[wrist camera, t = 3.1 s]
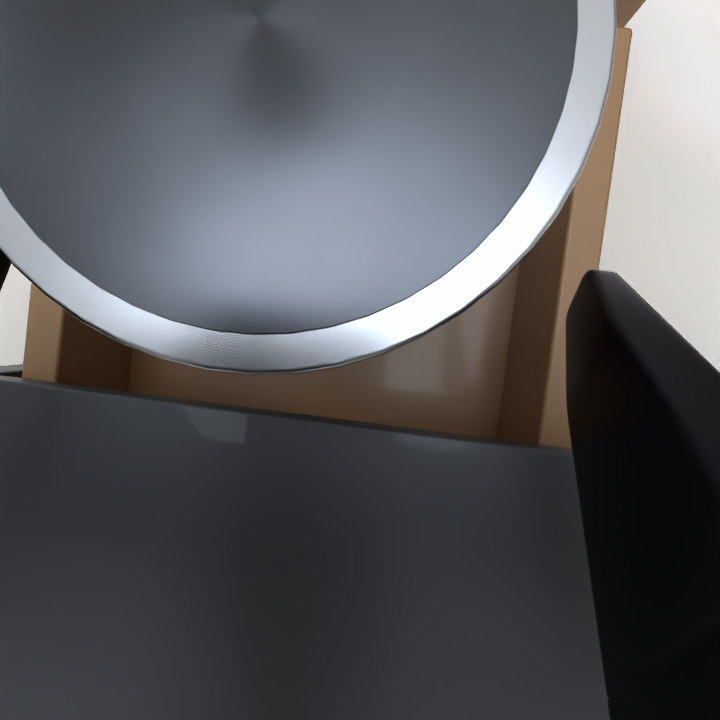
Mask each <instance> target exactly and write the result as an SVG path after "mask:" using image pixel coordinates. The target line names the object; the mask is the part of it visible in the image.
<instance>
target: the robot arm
mask: <svg viewBox="0 0 720 720" xmlns="http://www.w3.org/2000/svg"><path fill="white" fill-rule="evenodd" d="M10 265H11V262H10V261H9V259H8V258H7V257H6V256H5V254H4V253H3V252H2V251H1V250H0V291H1V288H2V285H3V283H4V280H5V278H6V275H7V273H8V270H9V268H10ZM565 328H566V405H567V416H568V424H569V431H570V438H571V445H572V453H573V460H574V467H575V474H576V481H577V488H578V495H579V502H580V509H581V516H582V523H583V530H584V537H585V545H586V552H587V559H588V566H589V573H590V580H591V587H592V594H593V601H594V608H595V615H596V622H597V629H598V637H599V644H600V651H601V658H602V665H603V672H604V679H605V686H606V693H607V697H608V698H610V699H608V701H607V703H608V710H609V717H610V720H720V372H719V371H718V370H717V369H716V368H715V367H714V366H712V365H711V364H710V363H709V362H708V361H707V360H706V359H705V358H704V357H703V356H702V355H701V354H700V353H699V352H698V351H697V350H696V349H695V348H694V347H693V346H692V345H691V344H690V343H689V342H688V341H687V340H686V339H685V338H683V337H682V336H681V335H680V334H679V333H678V332H677V331H676V330H675V329H674V328H673V327H672V326H671V325H670V324H669V323H668V322H667V321H666V320H665V319H664V318H663V317H662V316H661V315H660V314H659V313H658V312H657V311H655V310H654V309H653V308H652V307H651V306H650V305H649V304H648V303H647V302H646V301H645V300H644V299H643V298H642V297H641V296H640V295H639V294H638V293H637V292H636V291H635V290H634V289H633V288H632V287H631V286H630V285H629V284H627V283H626V282H625V281H624V280H623V279H622V278H621V277H620V276H619V275H618V274H617V273H615V272H609V271H601V270H589V271H587V272H586V273H585V274H584V276H583V278H582V280H581V282H580V284H579V286H578V289H577V291H576V293H575V295H574V298H573V300H572V302H571V304H570V307H569V309H568V312H567V316H566V325H565Z"/></svg>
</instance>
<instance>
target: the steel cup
mask: <svg viewBox="0 0 720 720" xmlns="http://www.w3.org/2000/svg"><path fill="white" fill-rule="evenodd" d="M616 36H617V21H616V0H0V250H1V251H2V252H3V253H4V254H5V256H6V257H7V258H8V259H9V261H10V262H11V263H12V264H13V265H14V266H15V267H16V268H17V269H18V270H19V271H20V272H21V273H22V274H23V275H24V276H25V277H26V278H27V279H28V280H30V281H31V282H32V283H33V284H34V285H35V286H36V287H37V288H38V289H39V290H40V291H41V292H42V293H43V294H44V295H45V296H47V297H48V298H49V299H51V300H52V301H54V302H55V303H56V304H58V305H59V306H60V307H62V308H63V309H65V310H66V311H67V312H69V313H70V314H71V315H73V316H74V317H76V318H77V319H78V320H80V321H81V322H83V323H84V324H86V325H88V326H90V327H92V328H94V329H95V330H97V331H99V332H101V333H103V334H105V335H106V336H108V337H110V338H112V339H114V340H116V341H117V342H119V343H121V344H124V345H126V346H129V347H131V348H134V349H136V350H139V351H142V352H144V353H147V354H149V355H152V356H155V357H157V358H160V359H162V360H166V361H170V362H174V363H178V364H182V365H187V366H191V367H195V368H199V369H203V370H208V371H217V372H227V373H236V374H245V375H278V374H300V373H306V372H312V371H319V370H325V369H331V368H338V367H342V366H346V365H349V364H353V363H356V362H359V361H363V360H366V359H370V358H373V357H376V356H380V355H383V354H386V353H388V352H390V351H392V350H395V349H397V348H399V347H401V346H404V345H406V344H408V343H410V342H413V341H415V340H417V339H419V338H422V337H424V336H426V335H428V334H429V333H431V332H432V331H434V330H436V329H437V328H439V327H441V326H442V325H444V324H446V323H447V322H449V321H450V320H452V319H454V318H455V317H457V316H459V315H460V314H462V313H464V312H465V311H466V310H467V309H469V308H470V307H471V306H472V305H474V304H475V303H476V302H477V301H479V300H480V299H481V298H482V297H484V296H485V295H486V294H487V293H489V292H490V291H491V290H492V289H494V288H495V287H496V286H497V285H499V284H500V283H501V282H502V281H503V280H504V279H505V278H506V276H507V275H508V274H509V273H510V272H511V271H512V270H513V269H514V268H515V267H516V266H517V265H518V264H519V263H520V262H521V261H522V260H523V259H524V258H525V257H526V256H527V255H528V253H529V252H530V251H531V250H532V249H533V248H534V246H535V245H536V244H537V242H538V241H539V240H540V238H541V237H542V236H543V234H544V233H545V231H546V230H547V229H548V227H549V226H550V225H551V223H552V222H553V221H554V219H555V218H556V216H557V215H558V214H559V212H560V211H561V209H562V207H563V205H564V203H565V202H566V200H567V198H568V196H569V194H570V192H571V191H572V189H573V187H574V185H575V183H576V182H577V180H578V178H579V176H580V174H581V173H582V170H583V168H584V165H585V163H586V160H587V158H588V155H589V153H590V150H591V148H592V145H593V143H594V140H595V138H596V135H597V133H598V130H599V127H600V123H601V119H602V115H603V112H604V108H605V104H606V100H607V96H608V92H609V88H610V84H611V78H612V69H613V61H614V53H615V44H616Z"/></svg>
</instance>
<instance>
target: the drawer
mask: <svg viewBox="0 0 720 720" xmlns="http://www.w3.org/2000/svg"><path fill="white" fill-rule="evenodd" d="M645 1H646V0H616V21H617V36H616V44H615V53H614V61H613V69H612V78H611V84H610V88H609V92H608V96H607V100H606V104H605V108H604V112H603V115H602V119H601V123H600V127H599V130H598V133H597V135H596V138H595V140H594V143H593V145H592V148H591V150H590V153H589V155H588V158H587V160H586V163H585V165H584V168H583V170H582V173H581V174H580V176H579V178H578V180H577V182H576V183H575V185H574V187H573V189H572V191H571V192H570V194H569V196H568V198H567V200H566V202H565V203H564V205H563V207H562V209H561V211H560V212H559V214H558V215H557V216H556V218H555V219H554V221H553V222H552V223H551V225H550V226H549V227H548V229H547V230H546V231H545V233H544V234H543V236H542V237H541V238H540V240H539V241H538V242H537V244H536V245H535V246H534V248H533V249H532V250H531V251H530V252H529V253H528V255H527V256H526V257H525V258H524V259H523V260H522V261H521V262H520V263H519V264H518V265H517V266H516V267H515V268H514V269H513V270H512V271H511V272H510V273H509V274H508V275H507V276H506V278H505V279H504V280H503V281H502V282H501V283H500V284H499V285H497V286H496V287H495V288H494V289H492V290H491V291H490V292H489V293H487V294H486V295H485V296H484V297H482V298H481V299H480V300H479V301H477V302H476V303H475V304H474V305H472V306H471V307H470V308H469V309H467V310H466V311H465V312H464V313H462V314H460V315H459V316H457V317H455V318H454V319H452V320H450V321H449V322H447V323H446V324H444V325H442V326H441V327H439V328H437V329H436V330H434V331H432V332H431V333H429V334H428V335H426V336H424V337H422V338H419V339H417V340H415V341H413V342H410V343H408V344H406V345H404V346H401V347H399V348H397V349H395V350H392V351H390V352H388V353H386V354H383V355H380V356H376V357H373V358H370V359H366V360H363V361H359V362H356V363H353V364H349V365H346V366H342V367H338V368H331V369H325V370H319V371H312V372H306V373H300V374H278V375H245V374H236V373H227V372H217V371H208V370H203V369H199V368H195V367H191V366H187V365H182V364H178V363H174V362H170V361H166V360H162V359H160V358H157V357H155V356H152V355H149V354H147V353H144V352H142V351H139V350H136V349H134V348H131V347H129V346H126V345H124V344H121V343H119V342H117V341H116V340H114V339H112V338H110V337H108V336H106V335H105V334H103V333H101V332H99V331H97V330H95V329H94V328H92V327H90V326H88V325H86V324H84V323H83V322H81V321H80V320H78V319H77V318H76V317H74V316H73V315H71V314H70V313H69V312H67V311H66V310H65V309H63V308H62V307H60V306H59V305H58V304H56V303H55V302H54V301H52V300H51V299H49V298H48V297H47V296H45V295H44V294H43V293H42V292H41V291H40V290H39V289H38V288H37V287H36V286H35V285H34V284H33V283H32V284H31V293H30V303H29V313H28V323H27V332H26V342H25V352H24V362H23V372H22V378H25V379H33V380H41V381H48V382H56V383H64V384H72V385H80V386H87V387H95V388H103V389H111V390H119V391H126V392H134V393H142V394H150V395H158V396H165V397H173V398H181V399H189V400H197V401H204V402H212V403H220V404H228V405H236V406H243V407H251V408H259V409H267V410H275V411H282V412H290V413H298V414H306V415H314V416H321V417H329V418H337V419H345V420H353V421H360V422H368V423H376V424H384V425H392V426H399V427H407V428H415V429H423V430H431V431H438V432H446V433H454V434H462V435H470V436H477V437H485V438H493V439H501V440H509V441H516V442H524V443H532V444H540V445H548V446H555V447H563V448H571V449H572V445H571V438H570V431H569V424H568V416H567V405H566V328H565V325H566V316H567V312H568V309H569V307H570V304H571V302H572V300H573V298H574V295H575V293H576V291H577V289H578V286H579V284H580V282H581V280H582V278H583V276H584V274H585V273H586V272H587V271H589V270H598V269H599V262H600V255H601V248H602V241H603V234H604V227H605V220H606V213H607V206H608V199H609V192H610V185H611V178H612V171H613V164H614V156H615V149H616V142H617V135H618V128H619V121H620V114H621V107H622V100H623V93H624V86H625V79H626V72H627V65H628V58H629V51H630V43H631V36H632V30H631V29H630V28H624V26H625V25H626V24H627V23H628V21H629V20H630V19H631V18H632V17H633V15H634V14H635V13H636V12H637V10H638V9H639V8H640V7H641V5H642V4H643V3H644V2H645Z"/></svg>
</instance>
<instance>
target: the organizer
mask: <svg viewBox="0 0 720 720" xmlns="http://www.w3.org/2000/svg"><path fill="white" fill-rule="evenodd" d="M22 372H23V364H21V365H9V366H0V720H610V717H609V710H608V703H607V701H608V699H610V698H608V697H607V693H606V686H605V679H604V672H603V665H602V658H601V651H600V644H599V637H598V629H597V622H596V615H595V608H594V601H593V594H592V587H591V580H590V573H589V566H588V559H587V552H586V545H585V537H584V530H583V523H582V516H581V509H580V502H579V495H578V488H577V481H576V474H575V467H574V460H573V453H572V449H571V448H563V447H555V446H548V445H540V444H532V443H524V442H516V441H509V440H501V439H493V438H485V437H477V436H470V435H462V434H454V433H446V432H438V431H431V430H423V429H415V428H407V427H399V426H392V425H384V424H376V423H368V422H360V421H353V420H345V419H337V418H329V417H321V416H314V415H306V414H298V413H290V412H282V411H275V410H267V409H259V408H251V407H243V406H236V405H228V404H220V403H212V402H204V401H197V400H189V399H181V398H173V397H165V396H158V395H150V394H142V393H134V392H126V391H119V390H111V389H103V388H95V387H87V386H80V385H72V384H64V383H56V382H48V381H41V380H33V379H25V378H22Z"/></svg>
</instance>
